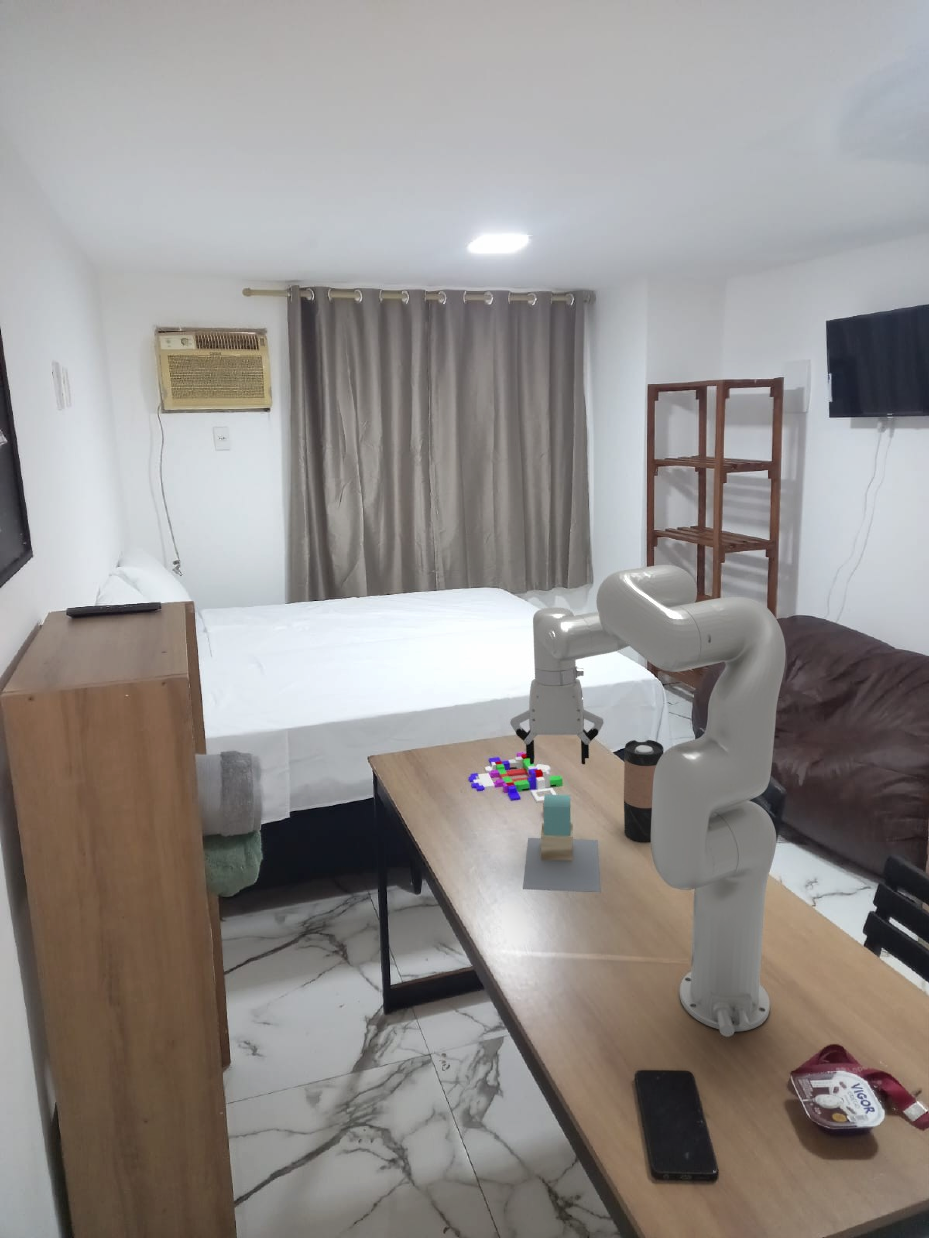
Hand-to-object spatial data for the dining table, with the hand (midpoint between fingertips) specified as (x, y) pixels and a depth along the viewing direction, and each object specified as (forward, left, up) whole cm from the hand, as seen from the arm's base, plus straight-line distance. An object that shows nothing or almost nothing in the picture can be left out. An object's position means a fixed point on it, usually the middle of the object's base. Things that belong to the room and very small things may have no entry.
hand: (557, 761), depth 153 cm
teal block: (0, 0, -14) cm, 14 cm away
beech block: (0, 0, -19) cm, 19 cm away
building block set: (+33, +11, -21) cm, 41 cm away
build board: (-4, -1, -20) cm, 21 cm away
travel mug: (+8, -17, -21) cm, 28 cm away
